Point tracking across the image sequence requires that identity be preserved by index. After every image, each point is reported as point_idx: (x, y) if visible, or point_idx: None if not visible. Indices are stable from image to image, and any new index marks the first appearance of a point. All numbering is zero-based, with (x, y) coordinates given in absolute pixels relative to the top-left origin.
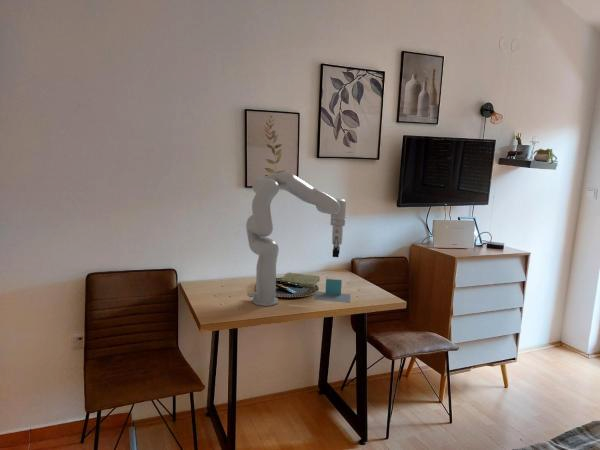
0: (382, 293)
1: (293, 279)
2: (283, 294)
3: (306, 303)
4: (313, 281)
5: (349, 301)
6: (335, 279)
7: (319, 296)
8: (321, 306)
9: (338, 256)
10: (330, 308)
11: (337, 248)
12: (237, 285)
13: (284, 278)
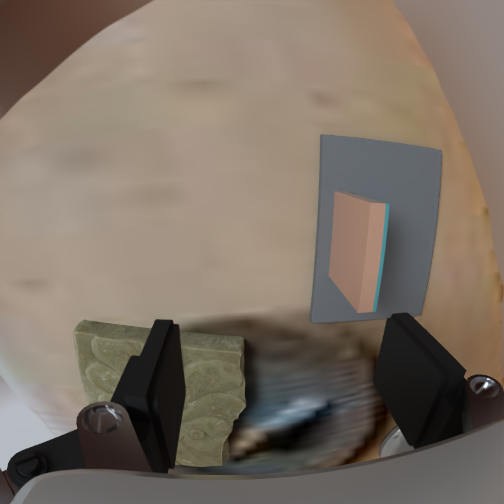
0: None
1: (201, 435)
2: (344, 423)
3: (438, 331)
4: (186, 357)
5: (429, 151)
6: (378, 249)
7: (383, 298)
8: (466, 272)
9: (409, 315)
10: (481, 236)
11: (469, 408)
12: None
13: (199, 460)
